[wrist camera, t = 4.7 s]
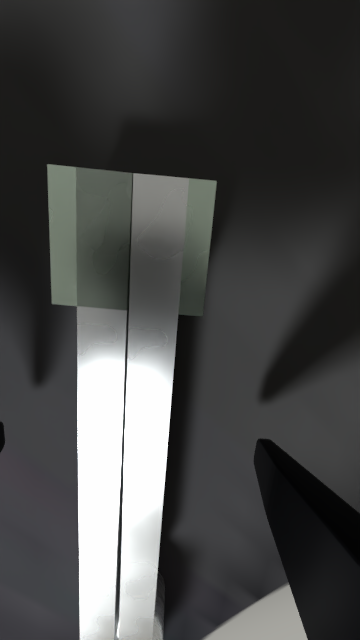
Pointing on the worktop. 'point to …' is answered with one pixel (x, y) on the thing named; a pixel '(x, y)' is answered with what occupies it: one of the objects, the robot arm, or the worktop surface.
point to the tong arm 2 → (156, 367)
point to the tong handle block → (157, 610)
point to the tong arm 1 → (96, 367)
